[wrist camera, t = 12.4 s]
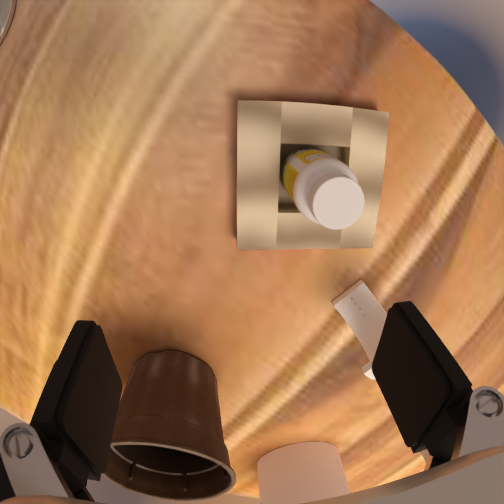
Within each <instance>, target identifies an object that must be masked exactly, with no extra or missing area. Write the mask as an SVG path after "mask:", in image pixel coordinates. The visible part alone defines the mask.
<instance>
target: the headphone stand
mask: <svg viewBox="0 0 504 504" xmlns="http://www.w3.org/2000/svg"><path fill="white" fill-rule="evenodd" d="M332 305H333V306H334V307H335V309H336V310H337V311H338V312H339V313H340V314H341V316H342V317H343V318H344V319H345V321H346V322H347V323H348V325H349V326H350V328H351V329H352V330H353V332H354V333H355V335H356V336H357V338H358V340H359V341H360V343H361V345H362V346H363V348H364V350H365V352H366V354H367V356H368V358H369V360H370V362H369V363H367V364H366V365H364V366H363V367H361V368H362V370H363V373H364V374H365V375H366V376H367V377H369V378H370V379H372V380H376V379H375V377H374V375H373V372H372V362H373V359H374V356H375V353H376V350H377V347H378V343H379V340H380V337H381V334H382V330H383V327H384V324H385V320H386V317H387V313H386V312H385V310H384V309H383V308H382V306H381V304H380V303H379V301H378V300H377V299H376V297H375V296H374V295H373V293H372V292H371V291H370V290H369V288H368V287H367V286H366V284H365V283H364V282H363V281H362V279H361V280H359V281H358V282H357V283H356V284H354V285H353V286H352V287H350V288H349V289H348V290H346V291H345V292H344V293H343V294H341V295H340V296H339V297H337V298H336V299H335V300H333V301H332Z"/></svg>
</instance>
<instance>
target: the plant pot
mask: <svg viewBox="0 0 504 504" xmlns="http://www.w3.org/2000/svg"><path fill="white" fill-rule="evenodd" d="M102 475H103V476H104V477H106V478H107V479H109V480H110V481H112V482H113V483H115V484H117V485H118V486H120V487H122V488H125V489H127V490H130V491H132V492H135V493H138V494H142V495H145V496H150V497H154V498H159V499H165V500H175V501H197V500H205V499H210V498H214V497H217V496H220V495H222V494H224V493H226V492H228V491H229V490H231V489H232V488H233V487H234V485H235V483H236V475H235V472H234V470H233V469H232V468H231V467H230V462H229V456H228V450H227V447H226V445H225V444H224V439H223V431H222V424H221V416H220V408H219V400H218V390H217V380H216V378H215V376H214V373H213V371H212V369H211V368H210V367H209V366H208V365H207V364H206V363H204V362H203V361H201V360H200V359H198V358H196V357H194V356H192V355H189V354H187V353H183V352H180V351H174V350H165V351H163V352H160V353H153V352H150V353H148V354H146V355H144V356H142V357H141V358H140V359H139V360H138V361H137V362H136V363H135V365H134V367H133V369H132V372H131V375H130V377H129V380H128V382H127V385H126V387H125V390H124V392H123V395H122V397H121V400H120V402H119V406H118V411H117V415H116V420H115V425H114V430H113V435H112V440H111V445H110V451H109V456H108V462H107V468H106V471H105V473H104V474H102Z"/></svg>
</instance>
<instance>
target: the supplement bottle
mask: <svg viewBox="0 0 504 504" xmlns="http://www.w3.org/2000/svg"><path fill="white" fill-rule="evenodd" d="M280 175H281V182H282V185H283V187H284V189H285V190H286V192H287V193H288V195H289V196H290V198H291V199H292V201H293V202H294V204H295V205H296V207H297V208H298V210H299V211H300V212H301V214H302V215H303V216H305V217H306V218H307V219H309V220H310V221H312V222H314V223H318V224H321V225H323V226H324V227H326V228H329V229H333V230H338V229H344V228H346V227H349V226H350V225H352V224H353V223H355V222H356V221H357V220H358V218H359V217H360V215H361V214H362V211H363V208H364V202H365V200H364V194H363V191H362V189H361V187H360V186H359V184H358V181H357V178H356V176H355V174H354V172H353V171H352V170H351V169H350V168H349V167H348V166H347V165H346V164H344V163H343V162H341V161H340V160H338V159H336V158H334V157H332V156H330V155H329V154H327V153H325V152H323V151H321V150H319V149H316V148H312V147H304V148H300V149H297V150H295V151H293V152H292V153H290V154H289V155H288V156H287V158H286V159H285V160H284V162H283V164H282V167H281V173H280Z"/></svg>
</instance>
